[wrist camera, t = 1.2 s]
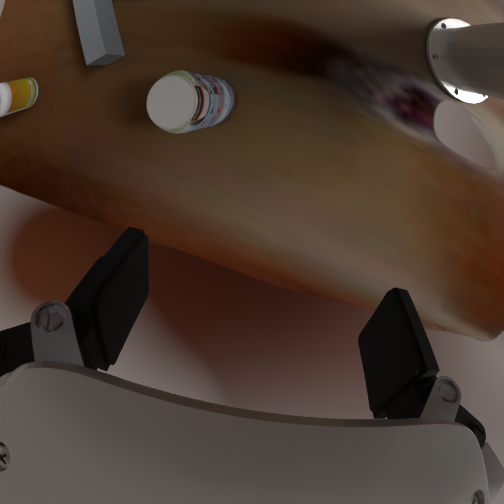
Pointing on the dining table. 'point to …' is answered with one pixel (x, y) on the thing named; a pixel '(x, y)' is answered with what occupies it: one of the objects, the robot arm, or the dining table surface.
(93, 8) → the grey long bar
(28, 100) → the supplement bottle
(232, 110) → the beverage can
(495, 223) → the dining table surface
